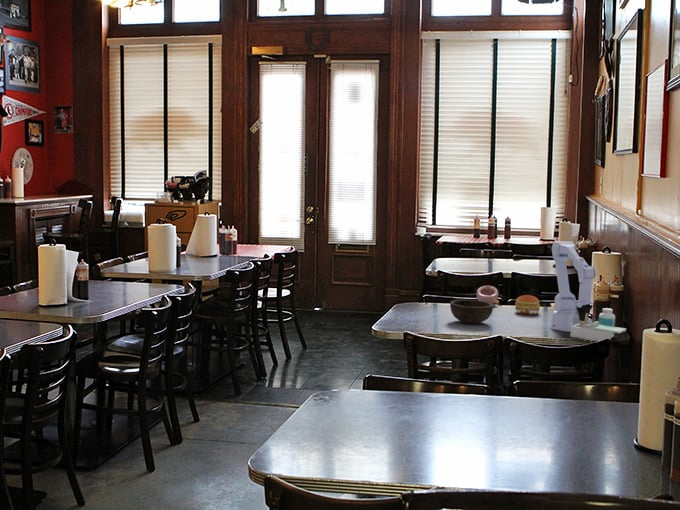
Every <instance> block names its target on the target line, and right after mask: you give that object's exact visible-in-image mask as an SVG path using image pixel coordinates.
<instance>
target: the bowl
mask: <svg viewBox="0 0 680 510" xmlns="http://www.w3.org/2000/svg"><path fill="white" fill-rule="evenodd" d="M449 305H450V312H451V314H452V315H453V317H455V319H457V320H458V321H460V322H461V323H465V324H469V325H472V324H473V325H474V324H481V323H483V322H485V321H486V320H488V319H489V318H490V316H491V315H492V313H493V309H494V303H493V304H492V303H489V302H485V301H479V300H478V299H477V300H476V299H456V300H455V299H454V300H451V301H450V303H449Z"/></svg>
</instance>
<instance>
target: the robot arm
mask: <svg viewBox="0 0 680 510" xmlns="http://www.w3.org/2000/svg"><path fill="white" fill-rule="evenodd" d="M551 254H552V259H553V260H554V263H555V272H556V279H557V286H558V287H557V288H558V292H559V293H557V295H555V297H554V306H553V307H554V309H555V310H554V311H553V313H552V317H551V327H550V329H551V330H556V331H560V332H561V331H562V332H567V333H568V332H570V333H571V326H573V317H574V316H573V315H574V314H575V312H576V311H577V314H578V318H579V322H580V321H585V317H586V313H587V320H588V318H589V315H590V312H591V310H593V309H592V308H593V304H594V302H593V299H592V293H593V292H592V291H593V280H594V279H595V278H596V275H597V274H596V269H595V268H594V266H591V265H589V264H588V263H587V262H586V260H585V259H584V257H581V256H579V254H578V252H577V251H576V244H575V243H574V241H554V242H553V243H552V245H551ZM569 259H571V261H572V265H573V267H574V269H575V270H576V271H577V277H578V282H579V291H578V300H576V296H575V294H573V293H572V292H571V290H570V283H569V275H568V268H567V261H568V260H569Z"/></svg>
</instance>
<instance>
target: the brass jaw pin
mask: <svg viewBox="0 0 680 510" xmlns="http://www.w3.org/2000/svg"><path fill="white" fill-rule="evenodd" d="M579 322H580V324H583V325H586V324H587V325H588V319H587V313H586V317H585V321H580V320H579Z"/></svg>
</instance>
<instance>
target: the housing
mask: <svg viewBox="0 0 680 510" xmlns="http://www.w3.org/2000/svg"><path fill="white" fill-rule="evenodd" d="M590 327H591V324H588V323H587V324H586V325H583V324H580V323H579V322H578V323H576V324H574V325H573V324H572V326H571V331H570V335H569V338H570V337H573V338H581V339H586V340H590V341H589V342H592V341H599V340H604V339H609V340H610V341H611V340H612V338H611V332H607V331H600V330H595V329H590ZM573 338H572V339H573ZM586 340H585V341H586Z"/></svg>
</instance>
